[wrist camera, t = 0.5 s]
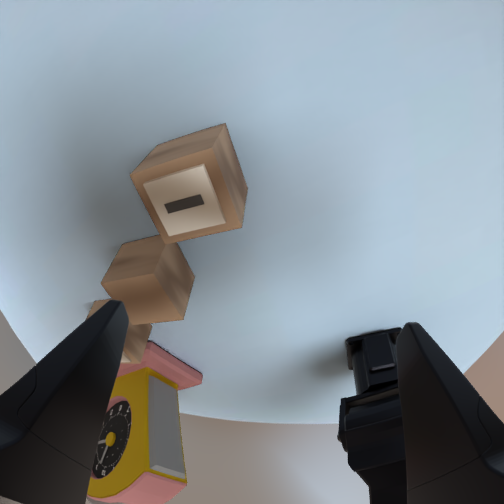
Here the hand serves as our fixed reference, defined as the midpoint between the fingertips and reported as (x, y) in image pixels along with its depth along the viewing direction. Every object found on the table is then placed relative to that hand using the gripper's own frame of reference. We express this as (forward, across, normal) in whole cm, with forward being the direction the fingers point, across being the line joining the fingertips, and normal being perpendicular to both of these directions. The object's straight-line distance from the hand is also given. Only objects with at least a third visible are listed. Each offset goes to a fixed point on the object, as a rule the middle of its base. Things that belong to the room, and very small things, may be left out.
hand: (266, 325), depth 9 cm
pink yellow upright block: (+14, +15, +31) cm, 38 cm away
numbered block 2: (+14, +5, +1) cm, 15 cm away
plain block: (+14, +9, +10) cm, 19 cm away
